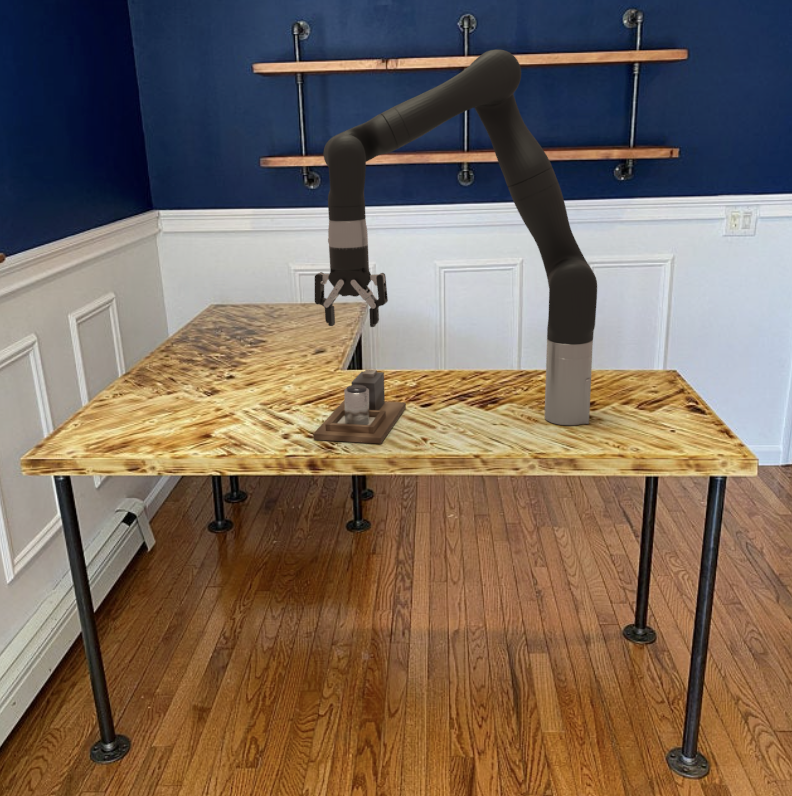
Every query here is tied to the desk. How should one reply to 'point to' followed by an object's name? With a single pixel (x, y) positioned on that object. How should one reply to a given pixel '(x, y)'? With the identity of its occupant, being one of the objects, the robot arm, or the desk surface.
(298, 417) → the desk surface
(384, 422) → the dock
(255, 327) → the desk surface
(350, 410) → the lens
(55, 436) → the desk surface
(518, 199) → the robot arm
